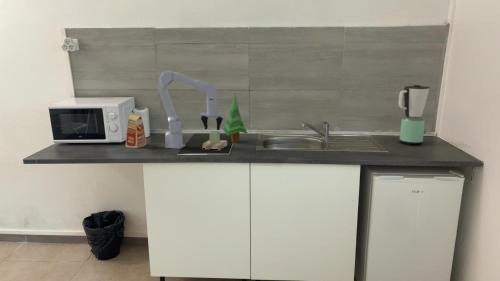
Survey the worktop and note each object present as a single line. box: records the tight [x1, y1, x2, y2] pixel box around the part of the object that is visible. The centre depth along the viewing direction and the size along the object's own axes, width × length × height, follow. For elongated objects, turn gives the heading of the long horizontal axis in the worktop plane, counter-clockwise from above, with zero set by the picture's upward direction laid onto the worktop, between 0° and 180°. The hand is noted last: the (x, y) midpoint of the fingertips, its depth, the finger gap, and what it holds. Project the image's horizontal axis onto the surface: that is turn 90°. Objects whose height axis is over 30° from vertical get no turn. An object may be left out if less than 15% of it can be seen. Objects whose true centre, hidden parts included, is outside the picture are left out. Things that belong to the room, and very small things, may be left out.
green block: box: [209, 130, 221, 144], centre depth 211 cm, size 4×4×6 cm
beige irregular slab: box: [202, 139, 228, 151], centre depth 212 cm, size 11×11×3 cm
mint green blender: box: [397, 84, 431, 146], centre depth 217 cm, size 19×13×35 cm
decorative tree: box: [222, 94, 248, 144], centre depth 222 cm, size 14×16×30 cm
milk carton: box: [125, 112, 147, 149], centre depth 214 cm, size 9×9×20 cm
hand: (212, 129), depth 211 cm, fingers open, 7 cm apart
